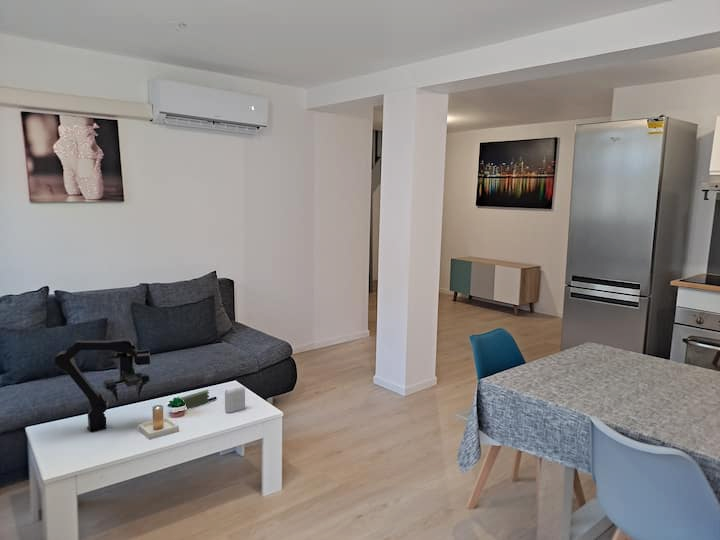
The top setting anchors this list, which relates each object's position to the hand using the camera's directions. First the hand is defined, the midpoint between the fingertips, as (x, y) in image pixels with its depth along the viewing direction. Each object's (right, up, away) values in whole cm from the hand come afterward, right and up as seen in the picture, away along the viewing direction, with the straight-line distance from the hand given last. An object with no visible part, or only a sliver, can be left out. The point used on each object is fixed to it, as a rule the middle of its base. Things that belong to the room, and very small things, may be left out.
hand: (127, 399), depth 240 cm
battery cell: (+16, -12, -5) cm, 20 cm away
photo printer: (+44, -11, +21) cm, 50 cm away
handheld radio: (+23, -10, +25) cm, 36 cm away
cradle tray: (+16, -13, -4) cm, 21 cm away
